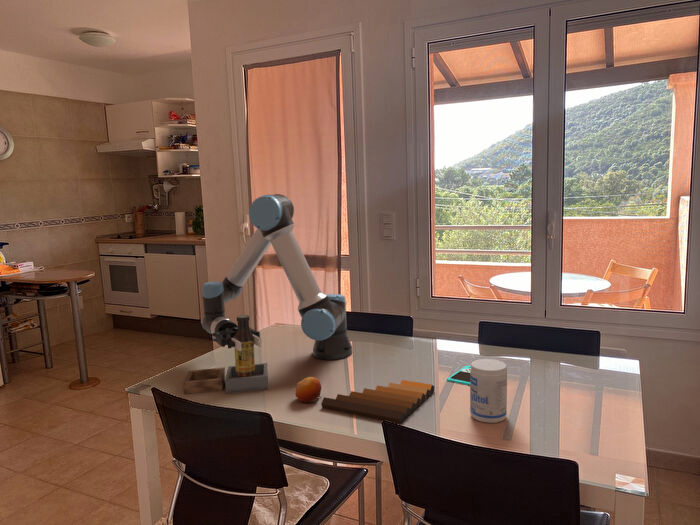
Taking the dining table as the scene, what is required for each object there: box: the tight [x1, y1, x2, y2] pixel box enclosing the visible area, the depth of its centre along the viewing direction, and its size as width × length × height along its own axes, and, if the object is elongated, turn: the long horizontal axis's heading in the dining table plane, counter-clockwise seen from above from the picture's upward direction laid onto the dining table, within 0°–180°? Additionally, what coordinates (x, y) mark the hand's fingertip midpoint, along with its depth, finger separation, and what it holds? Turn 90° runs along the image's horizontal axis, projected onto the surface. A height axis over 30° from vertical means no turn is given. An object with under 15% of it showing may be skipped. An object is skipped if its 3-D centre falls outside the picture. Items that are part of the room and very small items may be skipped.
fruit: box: [295, 376, 322, 404], centre depth 160 cm, size 8×8×8 cm
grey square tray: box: [224, 362, 269, 394], centre depth 175 cm, size 13×13×4 cm
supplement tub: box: [469, 358, 508, 424], centre depth 142 cm, size 10×10×15 cm
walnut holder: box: [182, 366, 226, 395], centre depth 176 cm, size 12×12×4 cm
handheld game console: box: [446, 365, 471, 387], centre depth 173 cm, size 10×16×1 cm, turn 143°
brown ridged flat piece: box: [320, 379, 435, 425], centre depth 158 cm, size 25×3×25 cm
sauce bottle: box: [234, 314, 256, 377], centre depth 174 cm, size 7×6×20 cm
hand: (250, 344), depth 169 cm, fingers closed on sauce bottle, 6 cm apart
